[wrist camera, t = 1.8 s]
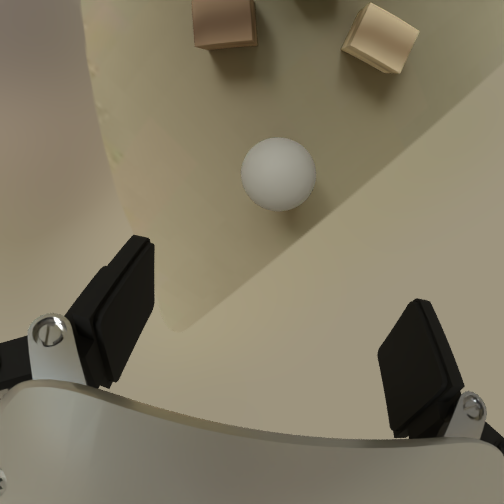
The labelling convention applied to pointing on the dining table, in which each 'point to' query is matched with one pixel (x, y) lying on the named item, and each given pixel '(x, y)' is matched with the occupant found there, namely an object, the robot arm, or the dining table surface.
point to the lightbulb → (278, 174)
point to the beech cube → (380, 39)
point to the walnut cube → (224, 23)
